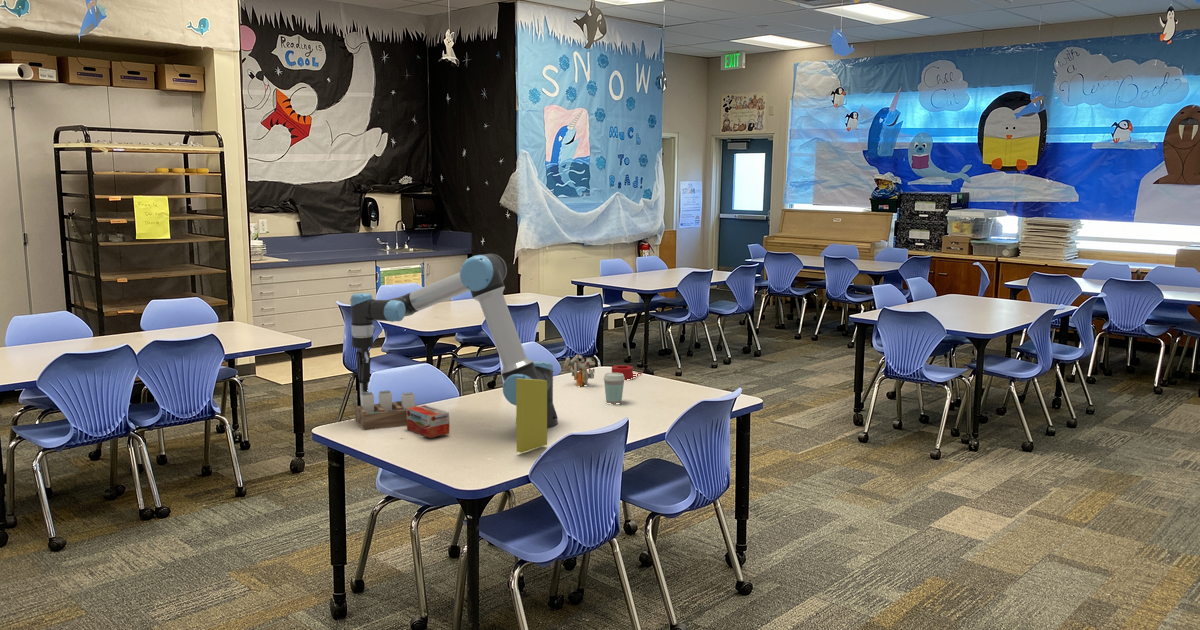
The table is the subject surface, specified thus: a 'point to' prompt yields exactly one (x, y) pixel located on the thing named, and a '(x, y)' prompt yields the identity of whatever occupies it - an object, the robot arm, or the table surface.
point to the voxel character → (583, 374)
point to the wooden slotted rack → (382, 417)
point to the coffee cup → (614, 387)
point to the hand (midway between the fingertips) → (364, 399)
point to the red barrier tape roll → (624, 371)
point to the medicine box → (427, 421)
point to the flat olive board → (531, 414)
